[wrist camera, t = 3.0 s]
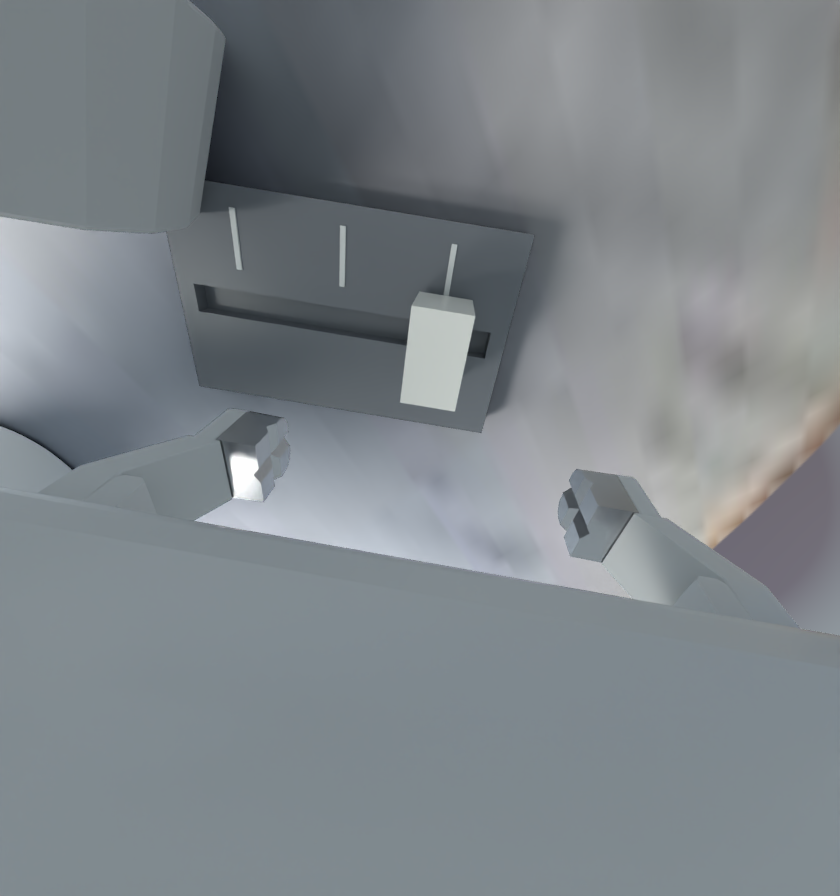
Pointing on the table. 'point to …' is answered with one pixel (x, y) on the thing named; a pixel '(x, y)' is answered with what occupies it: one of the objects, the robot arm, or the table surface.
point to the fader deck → (337, 299)
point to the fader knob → (436, 350)
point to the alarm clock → (106, 112)
